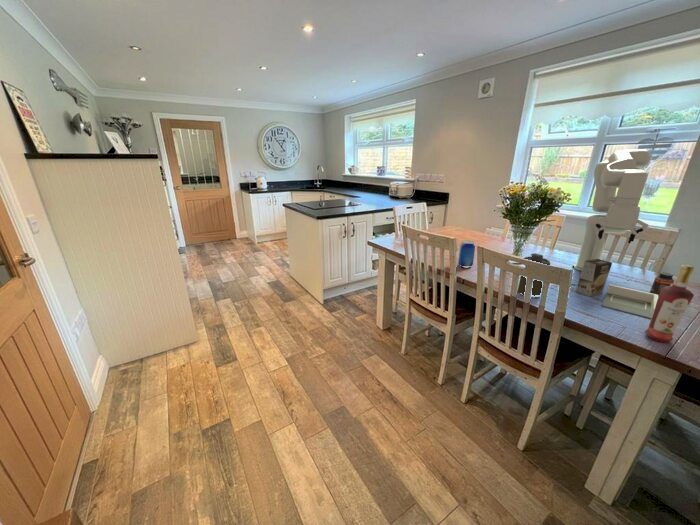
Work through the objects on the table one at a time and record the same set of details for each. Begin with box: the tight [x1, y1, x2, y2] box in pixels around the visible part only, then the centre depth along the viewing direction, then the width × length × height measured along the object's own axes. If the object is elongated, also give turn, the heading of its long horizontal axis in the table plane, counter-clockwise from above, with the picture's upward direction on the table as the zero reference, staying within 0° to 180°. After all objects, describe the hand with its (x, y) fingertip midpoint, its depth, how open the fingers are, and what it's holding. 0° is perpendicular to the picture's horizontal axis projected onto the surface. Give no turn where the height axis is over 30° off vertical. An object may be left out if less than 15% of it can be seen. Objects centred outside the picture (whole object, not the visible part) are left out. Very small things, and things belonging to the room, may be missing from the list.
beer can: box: [457, 239, 476, 267], centre depth 167 cm, size 8×8×16 cm
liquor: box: [644, 264, 695, 343], centre depth 94 cm, size 7×7×28 cm
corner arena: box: [601, 284, 658, 320], centre depth 121 cm, size 18×16×4 cm
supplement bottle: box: [649, 271, 675, 297], centre depth 126 cm, size 6×6×11 cm
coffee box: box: [575, 258, 613, 297], centre depth 131 cm, size 9×6×16 cm
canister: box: [517, 253, 551, 296], centre depth 131 cm, size 11×10×20 cm
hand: (614, 240), depth 122 cm, fingers open, 9 cm apart
